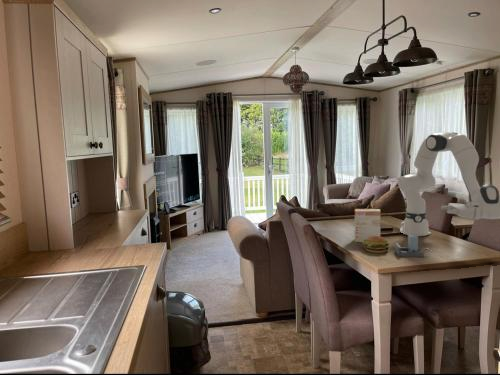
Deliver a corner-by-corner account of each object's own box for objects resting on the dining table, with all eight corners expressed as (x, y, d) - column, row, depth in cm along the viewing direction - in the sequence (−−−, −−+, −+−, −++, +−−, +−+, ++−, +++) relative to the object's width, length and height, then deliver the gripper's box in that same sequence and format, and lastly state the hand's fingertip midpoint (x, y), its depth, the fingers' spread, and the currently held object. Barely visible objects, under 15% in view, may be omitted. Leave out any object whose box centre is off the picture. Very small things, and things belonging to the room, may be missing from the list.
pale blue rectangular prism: (407, 253, 211) (408, 235, 209) (415, 253, 210) (416, 235, 209) (409, 255, 207) (410, 236, 206) (417, 255, 206) (418, 237, 205)
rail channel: (395, 251, 214) (395, 242, 214) (419, 252, 212) (419, 243, 212) (398, 256, 205) (398, 247, 204) (423, 257, 203) (424, 247, 202)
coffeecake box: (379, 240, 239) (380, 208, 237) (380, 243, 233) (380, 211, 230) (354, 239, 243) (354, 208, 241) (354, 242, 237) (354, 210, 234)
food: (358, 247, 224) (358, 234, 223) (382, 246, 225) (382, 233, 224) (368, 254, 210) (368, 240, 209) (393, 253, 211) (393, 239, 211)
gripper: (465, 200, 213) (438, 200, 216) (480, 208, 193) (451, 207, 196) (464, 212, 214) (437, 211, 216) (480, 220, 194) (450, 219, 197)
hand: (444, 209), depth 206 cm, fingers open, 8 cm apart
